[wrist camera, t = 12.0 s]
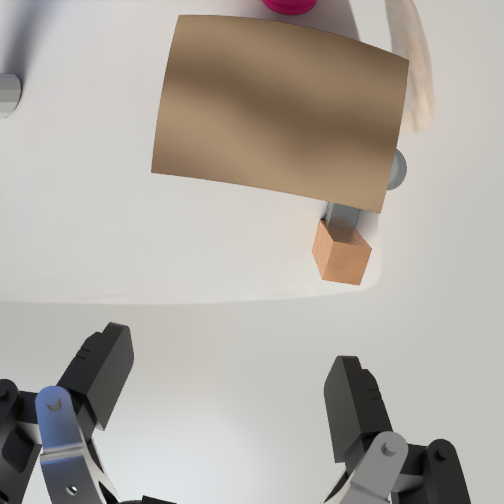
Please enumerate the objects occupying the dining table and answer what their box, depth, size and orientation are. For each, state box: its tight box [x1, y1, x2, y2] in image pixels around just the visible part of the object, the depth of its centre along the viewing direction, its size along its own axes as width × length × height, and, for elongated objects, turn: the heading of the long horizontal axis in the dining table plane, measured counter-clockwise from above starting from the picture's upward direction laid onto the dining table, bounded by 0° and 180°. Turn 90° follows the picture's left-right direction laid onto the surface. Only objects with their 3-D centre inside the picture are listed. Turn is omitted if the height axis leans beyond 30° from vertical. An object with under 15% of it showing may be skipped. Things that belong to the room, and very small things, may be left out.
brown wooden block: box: [151, 15, 409, 213], centre depth 21 cm, size 11×15×14 cm
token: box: [387, 149, 407, 190], centre depth 29 cm, size 5×5×2 cm
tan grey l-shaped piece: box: [312, 202, 372, 285], centre depth 28 cm, size 14×4×7 cm, turn 171°
